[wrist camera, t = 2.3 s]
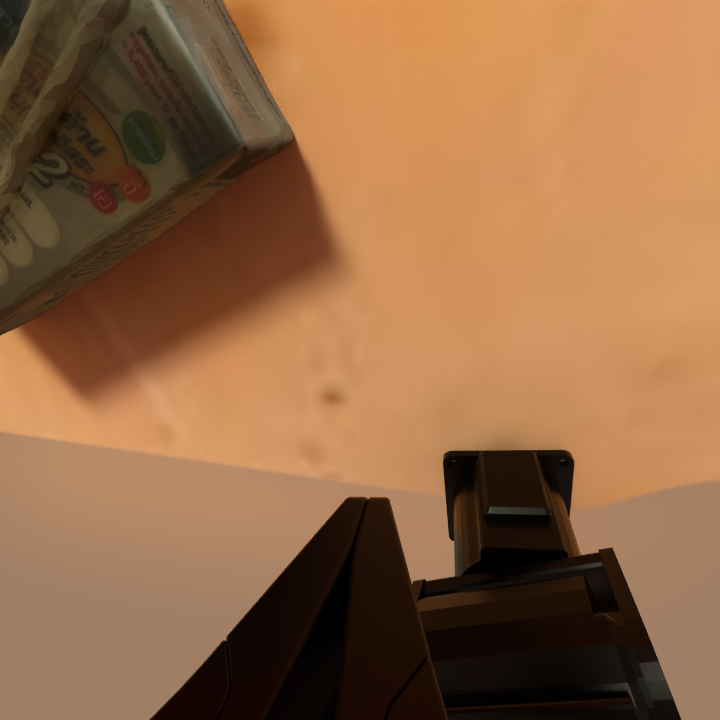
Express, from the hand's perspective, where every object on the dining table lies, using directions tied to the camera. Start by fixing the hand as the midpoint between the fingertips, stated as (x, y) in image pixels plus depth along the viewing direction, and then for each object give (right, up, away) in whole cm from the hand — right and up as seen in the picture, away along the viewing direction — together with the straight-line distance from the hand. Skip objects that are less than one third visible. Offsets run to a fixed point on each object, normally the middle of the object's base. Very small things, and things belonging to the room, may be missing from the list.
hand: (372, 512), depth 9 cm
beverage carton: (-12, +12, +12) cm, 21 cm away
